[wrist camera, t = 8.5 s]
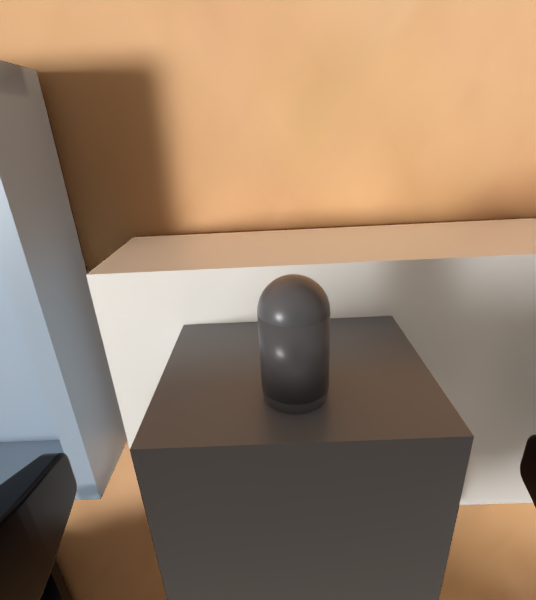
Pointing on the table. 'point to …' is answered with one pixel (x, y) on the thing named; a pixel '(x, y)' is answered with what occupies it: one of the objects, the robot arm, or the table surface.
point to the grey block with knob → (300, 458)
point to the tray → (47, 308)
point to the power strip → (351, 314)
